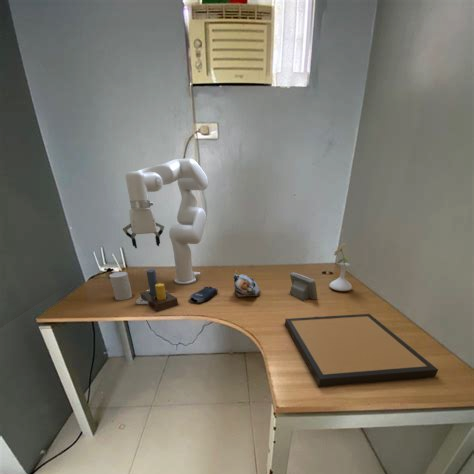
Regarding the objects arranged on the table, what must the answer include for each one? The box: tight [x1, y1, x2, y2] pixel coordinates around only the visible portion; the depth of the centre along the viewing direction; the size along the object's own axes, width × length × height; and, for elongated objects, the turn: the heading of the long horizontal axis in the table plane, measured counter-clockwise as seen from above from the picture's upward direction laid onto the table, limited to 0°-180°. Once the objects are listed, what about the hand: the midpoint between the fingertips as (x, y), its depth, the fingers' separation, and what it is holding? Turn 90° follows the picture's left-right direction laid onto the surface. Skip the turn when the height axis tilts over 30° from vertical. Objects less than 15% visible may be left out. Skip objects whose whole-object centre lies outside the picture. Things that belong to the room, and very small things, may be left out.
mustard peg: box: [155, 283, 166, 301], centre depth 119 cm, size 4×4×10 cm
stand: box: [139, 289, 179, 312], centre depth 123 cm, size 11×18×4 cm, turn 40°
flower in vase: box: [329, 242, 353, 292], centre depth 130 cm, size 13×11×25 cm
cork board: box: [284, 313, 439, 388], centre depth 88 cm, size 36×3×35 cm
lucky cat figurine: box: [233, 272, 262, 298], centre depth 127 cm, size 15×12×14 cm
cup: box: [109, 271, 133, 301], centre depth 127 cm, size 8×8×12 cm
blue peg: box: [145, 268, 158, 296], centre depth 123 cm, size 4×4×15 cm
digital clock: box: [289, 272, 318, 301], centre depth 127 cm, size 16×9×11 cm, turn 20°
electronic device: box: [189, 286, 219, 303], centre depth 127 cm, size 9×6×15 cm
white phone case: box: [136, 289, 150, 305], centre depth 128 cm, size 7×1×15 cm
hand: (147, 246), depth 114 cm, fingers open, 9 cm apart
